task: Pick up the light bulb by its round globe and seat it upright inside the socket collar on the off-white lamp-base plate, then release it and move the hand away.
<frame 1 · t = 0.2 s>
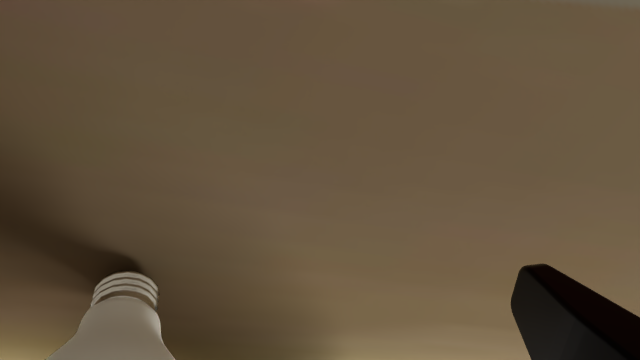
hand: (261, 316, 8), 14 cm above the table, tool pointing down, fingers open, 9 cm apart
light bulb: (129, 278, 26), on the table
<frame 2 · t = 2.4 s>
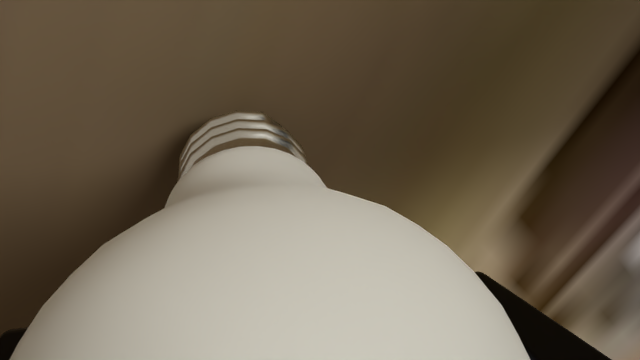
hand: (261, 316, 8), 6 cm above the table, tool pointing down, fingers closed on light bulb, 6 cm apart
light bulb: (241, 147, 13), on the table, touching gripper
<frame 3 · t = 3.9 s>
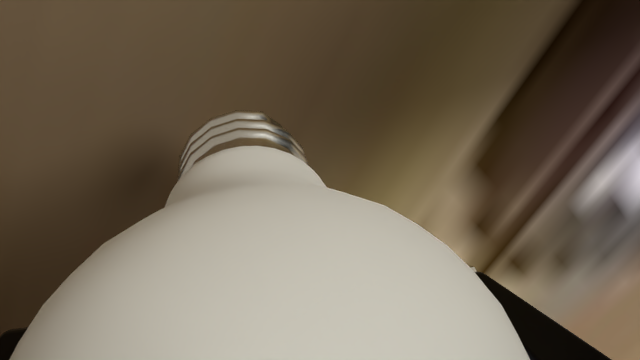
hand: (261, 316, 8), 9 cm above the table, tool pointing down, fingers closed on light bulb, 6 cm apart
light bulb: (241, 147, 13), point 3 cm above the table, touching gripper
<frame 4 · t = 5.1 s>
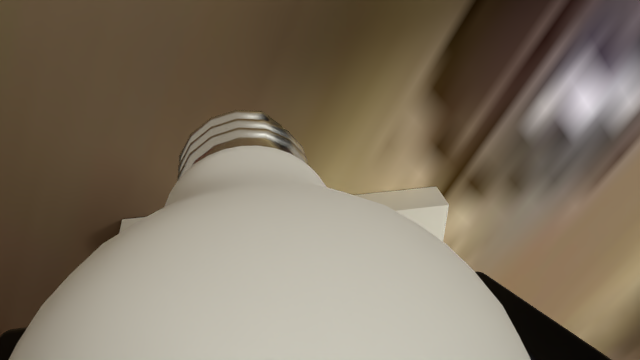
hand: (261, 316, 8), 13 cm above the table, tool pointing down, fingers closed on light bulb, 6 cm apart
light bulb: (241, 146, 13), point 7 cm above the table, touching gripper
socket base: (291, 313, 27), on the table
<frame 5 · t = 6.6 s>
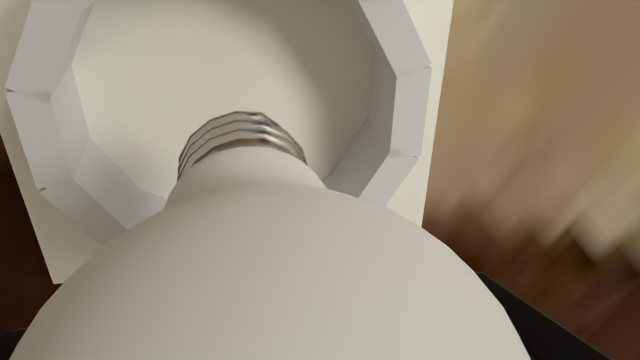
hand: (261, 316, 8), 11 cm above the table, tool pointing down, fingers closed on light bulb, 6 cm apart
light bulb: (240, 147, 13), point 5 cm above the table, touching gripper
socket base: (230, 75, 18), on the table
when the fingers open (9 cm above the table, at t = 7.9 s): light bulb drops 2 cm, resting on socket base.
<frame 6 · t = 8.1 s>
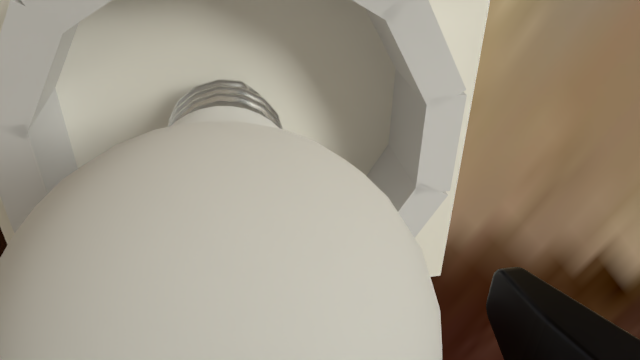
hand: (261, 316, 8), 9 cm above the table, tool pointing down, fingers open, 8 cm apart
light bulb: (226, 115, 15), point 1 cm above the table, touching gripper, socket base
socket base: (234, 96, 16), on the table
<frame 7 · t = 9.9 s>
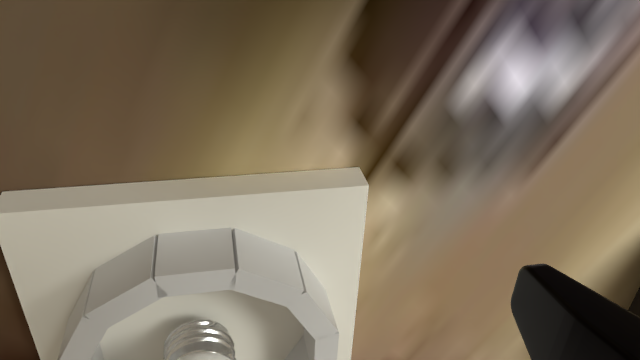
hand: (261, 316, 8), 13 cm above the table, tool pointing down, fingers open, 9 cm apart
light bulb: (198, 326, 24), point 1 cm above the table, touching socket base
socket base: (204, 305, 25), on the table
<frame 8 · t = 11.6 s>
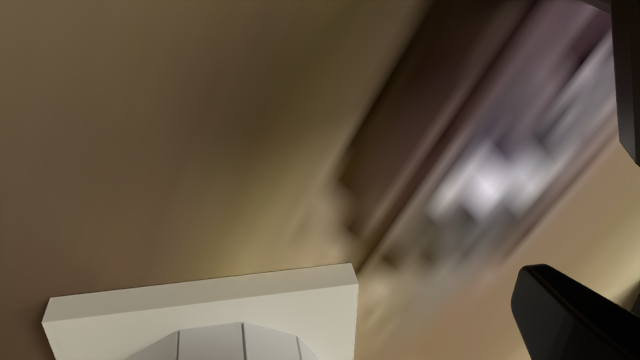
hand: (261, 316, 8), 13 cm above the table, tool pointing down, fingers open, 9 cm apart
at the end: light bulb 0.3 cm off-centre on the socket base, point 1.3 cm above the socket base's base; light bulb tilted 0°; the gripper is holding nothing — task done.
